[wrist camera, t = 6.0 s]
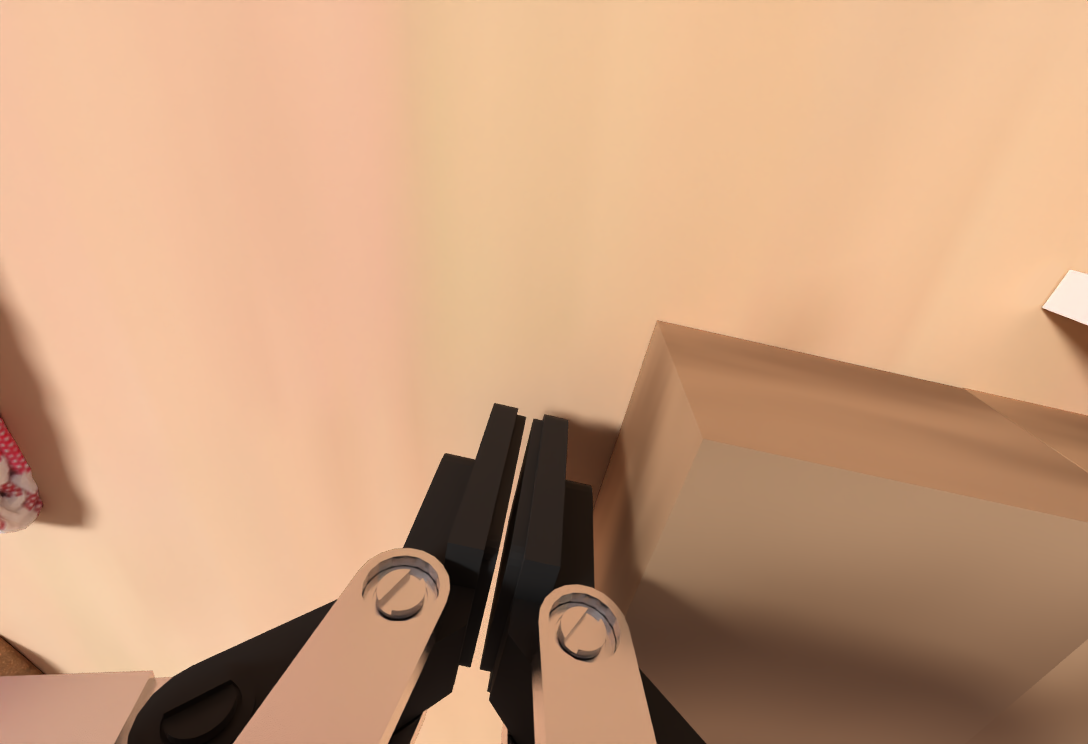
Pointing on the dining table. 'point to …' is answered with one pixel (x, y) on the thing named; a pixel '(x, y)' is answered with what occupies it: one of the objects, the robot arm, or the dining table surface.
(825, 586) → the tile
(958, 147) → the dining table surface
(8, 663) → the candle holder
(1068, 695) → the tile
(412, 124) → the dining table surface
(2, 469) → the dish towel
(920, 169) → the dining table surface
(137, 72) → the dining table surface
